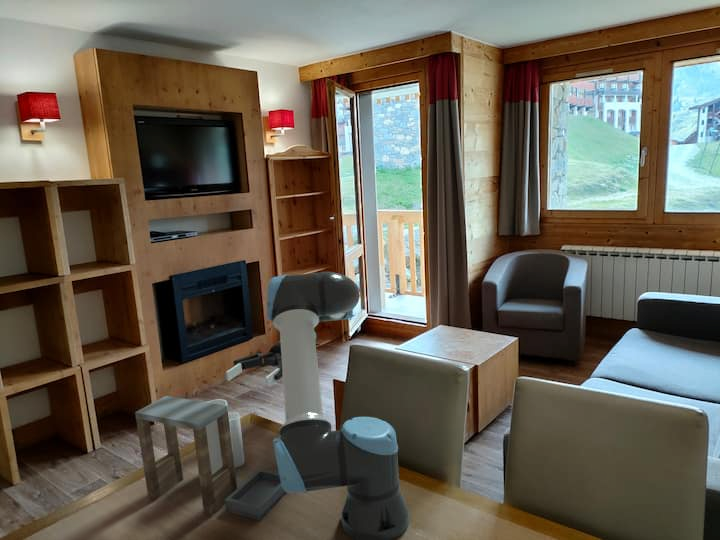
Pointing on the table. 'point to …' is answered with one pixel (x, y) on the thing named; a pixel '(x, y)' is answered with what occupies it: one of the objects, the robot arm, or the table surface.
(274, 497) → the dark gray tray
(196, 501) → the table surface
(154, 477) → the wooden stool
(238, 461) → the vase
